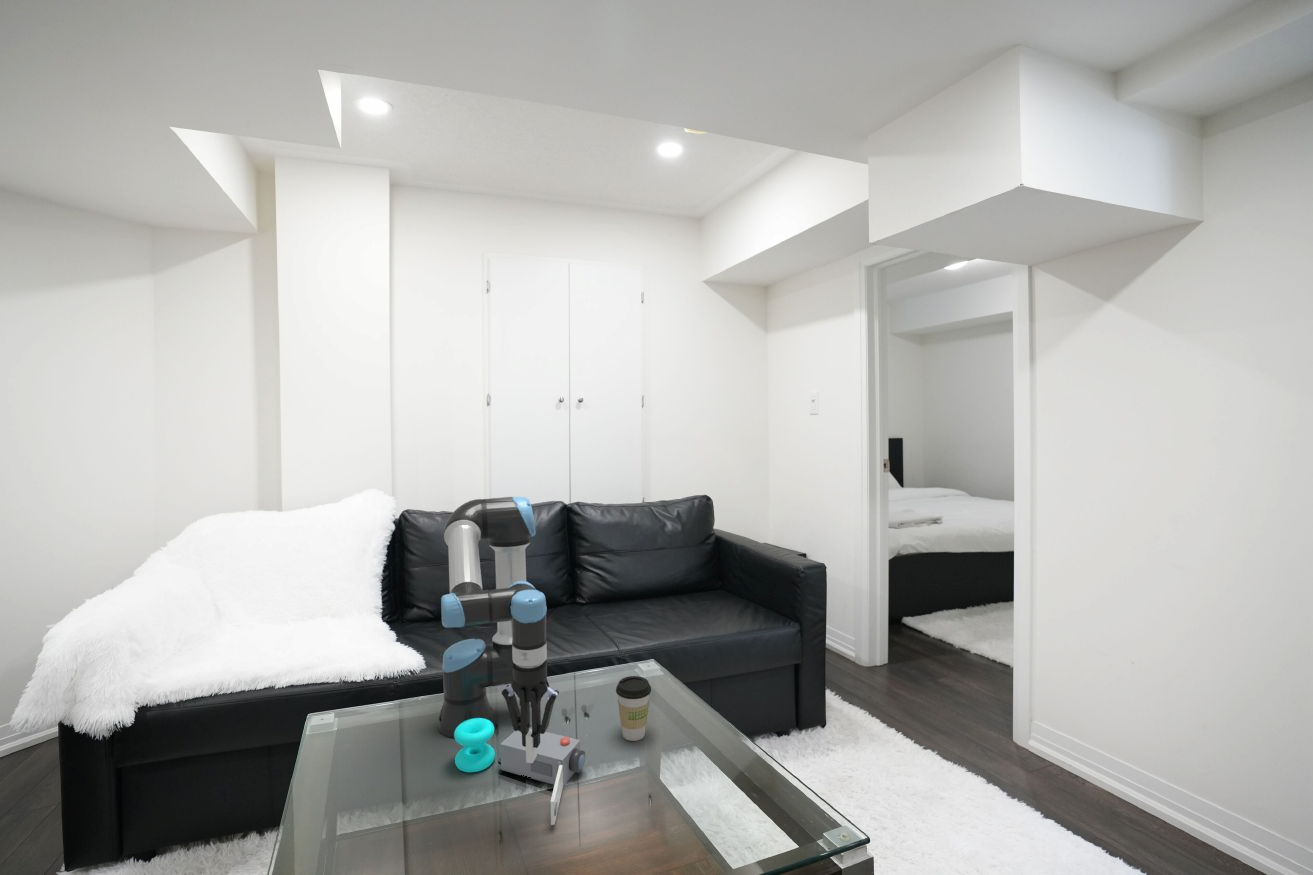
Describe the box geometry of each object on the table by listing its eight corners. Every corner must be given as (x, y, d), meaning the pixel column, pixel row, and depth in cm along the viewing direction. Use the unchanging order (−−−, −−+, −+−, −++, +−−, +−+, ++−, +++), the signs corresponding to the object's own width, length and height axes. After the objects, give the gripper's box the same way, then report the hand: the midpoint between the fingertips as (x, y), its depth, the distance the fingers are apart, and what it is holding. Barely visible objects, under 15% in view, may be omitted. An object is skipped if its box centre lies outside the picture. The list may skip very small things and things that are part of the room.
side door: (555, 826, 141) (555, 799, 141) (548, 826, 141) (547, 799, 141) (564, 785, 155) (564, 760, 154) (557, 785, 155) (557, 760, 154)
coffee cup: (647, 746, 172) (647, 694, 170) (612, 742, 174) (611, 690, 172) (654, 726, 181) (654, 676, 180) (621, 722, 183) (620, 673, 182)
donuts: (451, 739, 158) (456, 717, 168) (452, 776, 159) (457, 753, 169) (492, 735, 160) (495, 714, 169) (493, 772, 161) (496, 749, 170)
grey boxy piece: (500, 770, 162) (499, 741, 161) (521, 749, 170) (520, 722, 169) (571, 789, 154) (570, 759, 153) (588, 767, 163) (588, 739, 162)
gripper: (495, 666, 138) (497, 765, 142) (552, 671, 136) (553, 772, 139) (508, 650, 146) (510, 745, 149) (563, 655, 144) (564, 752, 147)
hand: (531, 758), depth 144 cm, fingers closed
